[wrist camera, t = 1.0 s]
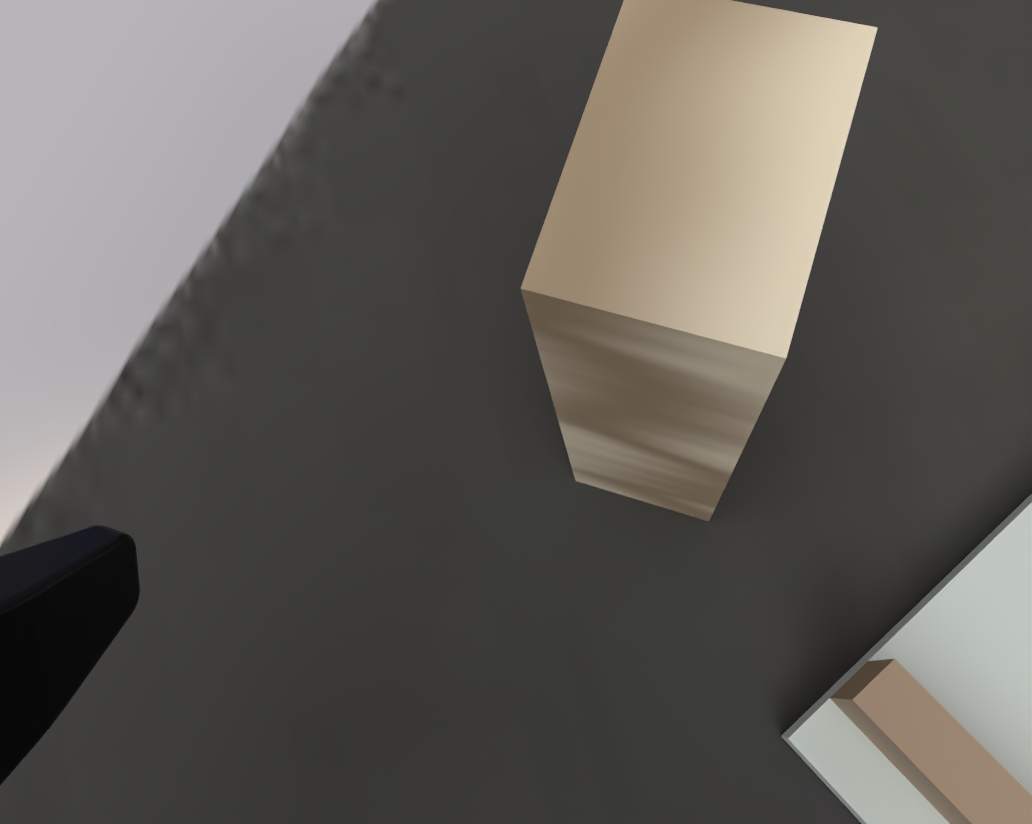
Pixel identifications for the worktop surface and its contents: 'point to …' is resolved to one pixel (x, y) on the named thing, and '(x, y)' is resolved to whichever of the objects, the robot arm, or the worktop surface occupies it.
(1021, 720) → the grooved board
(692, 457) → the maple plank
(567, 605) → the worktop surface
